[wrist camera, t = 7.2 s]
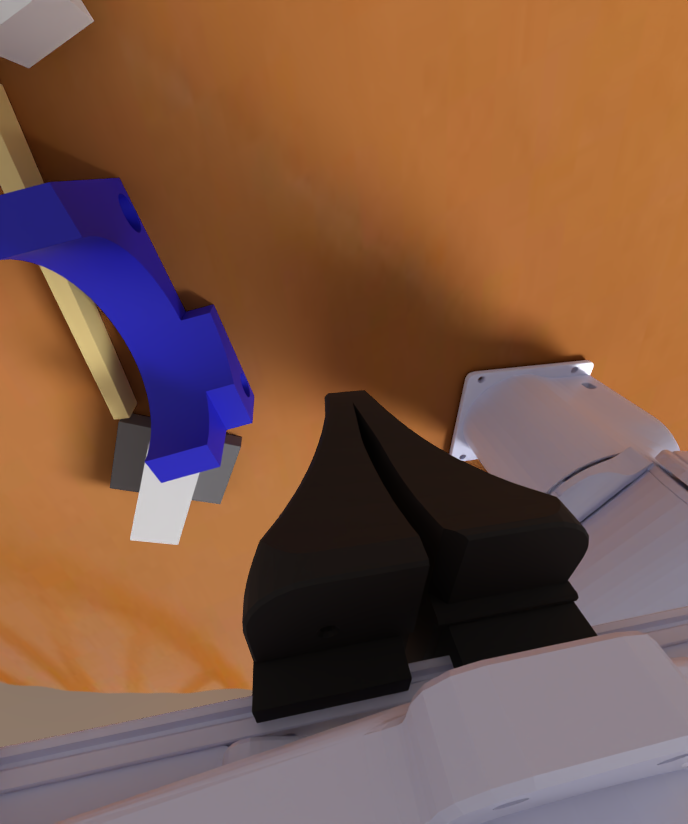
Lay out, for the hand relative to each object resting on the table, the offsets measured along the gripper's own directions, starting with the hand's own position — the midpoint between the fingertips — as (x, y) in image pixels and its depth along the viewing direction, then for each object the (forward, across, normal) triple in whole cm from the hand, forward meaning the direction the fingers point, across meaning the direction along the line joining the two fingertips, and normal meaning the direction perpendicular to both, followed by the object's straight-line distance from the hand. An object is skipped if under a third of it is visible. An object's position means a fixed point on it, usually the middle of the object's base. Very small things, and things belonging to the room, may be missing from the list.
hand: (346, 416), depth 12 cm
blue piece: (+10, +8, 0) cm, 13 cm away
